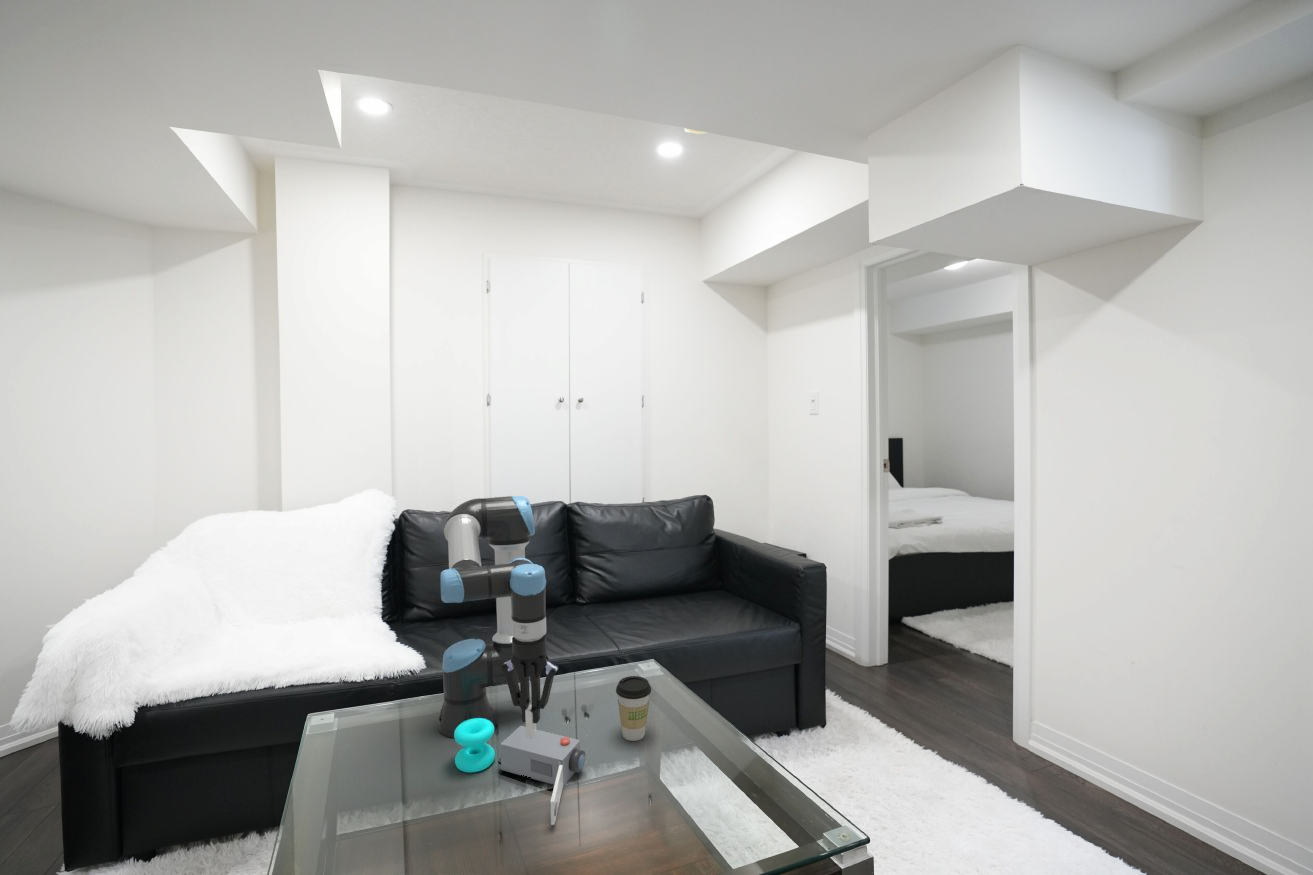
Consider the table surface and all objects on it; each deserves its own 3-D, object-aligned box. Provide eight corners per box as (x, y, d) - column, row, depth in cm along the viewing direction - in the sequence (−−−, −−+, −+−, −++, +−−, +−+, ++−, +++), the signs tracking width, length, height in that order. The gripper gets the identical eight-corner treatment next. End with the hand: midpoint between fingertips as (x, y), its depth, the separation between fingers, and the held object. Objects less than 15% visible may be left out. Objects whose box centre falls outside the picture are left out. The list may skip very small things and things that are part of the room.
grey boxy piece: (500, 770, 162) (499, 741, 161) (521, 749, 170) (520, 722, 169) (571, 789, 154) (570, 759, 153) (588, 767, 163) (588, 739, 162)
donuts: (451, 739, 158) (456, 717, 168) (452, 776, 159) (457, 753, 169) (492, 735, 160) (495, 714, 169) (493, 772, 161) (496, 749, 170)
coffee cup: (647, 746, 172) (647, 694, 170) (612, 742, 174) (611, 690, 172) (654, 726, 181) (654, 676, 180) (621, 722, 183) (620, 673, 182)
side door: (555, 826, 141) (555, 799, 141) (548, 826, 141) (547, 799, 141) (564, 785, 155) (564, 760, 154) (557, 785, 155) (557, 760, 154)
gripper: (494, 639, 138) (497, 741, 141) (551, 644, 136) (553, 747, 139) (508, 626, 146) (510, 722, 148) (562, 630, 143) (564, 728, 146)
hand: (531, 734), depth 143 cm, fingers closed
